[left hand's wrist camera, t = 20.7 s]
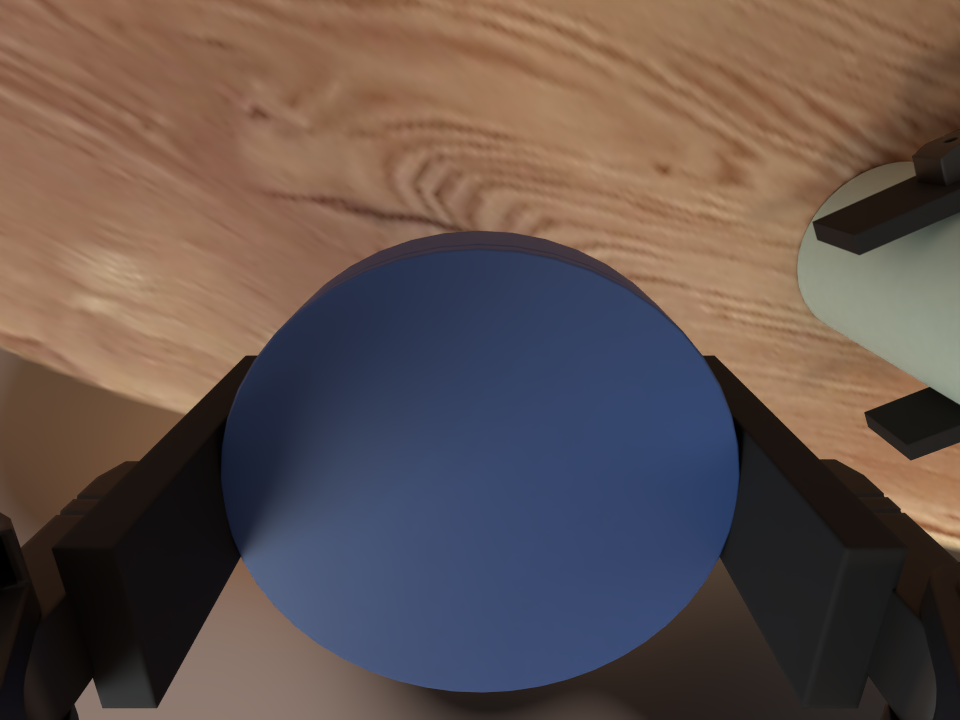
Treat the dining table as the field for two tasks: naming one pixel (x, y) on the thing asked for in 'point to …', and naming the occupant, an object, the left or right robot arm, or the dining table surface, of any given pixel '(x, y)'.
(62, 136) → the dining table surface
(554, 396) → the lid
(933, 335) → the jar
